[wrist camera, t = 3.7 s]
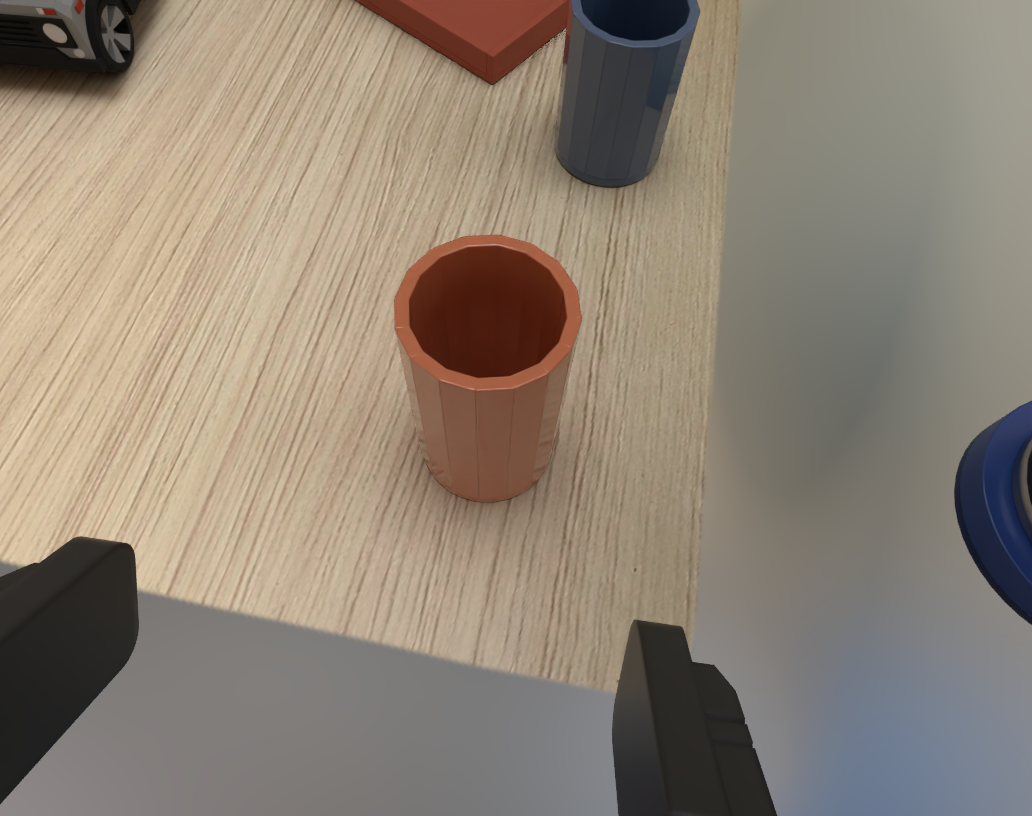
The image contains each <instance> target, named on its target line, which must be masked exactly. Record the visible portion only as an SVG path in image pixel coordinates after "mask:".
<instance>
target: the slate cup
mask: <svg viewBox="0 0 1032 816" xmlns="http://www.w3.org/2000/svg"><path fill="white" fill-rule="evenodd" d="M699 14H700V9H699V6H698V2H697V0H570V3H569V12H568V21H567V30H566V39H565V48H564V57H563V66H562V75H561V84H560V93H559V102H558V111H557V121H556V130H555V150H556V154H557V157H558V159H559V161H560V162H561V164H562V165H563V166H564V168H565V169H566V170H567V171H568V172H570V173H571V174H572V175H574V176H575V177H577V178H578V179H580V180H582V181H585V182H587V183H590V184H593V185H598V186H605V187H618V186H625V185H629V184H632V183H635V182H637V181H639V180H641V179H642V178H644V177H645V176H647V175H648V174H649V173H650V172H651V171H652V169H653V168H654V166H655V165H656V162H657V160H658V156H659V153H660V150H661V146H662V143H663V139H664V136H665V132H666V129H667V125H668V122H669V118H670V115H671V112H672V108H673V105H674V101H675V98H676V94H677V91H678V87H679V84H680V80H681V77H682V73H683V70H684V66H685V63H686V60H687V56H688V53H689V49H690V46H691V42H692V39H693V35H694V32H695V28H696V25H697V21H698V18H699Z"/></svg>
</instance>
